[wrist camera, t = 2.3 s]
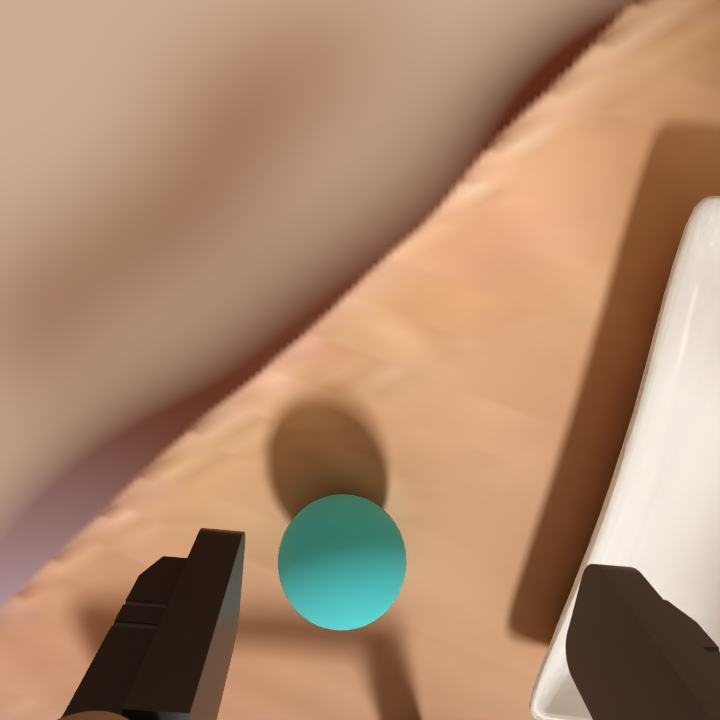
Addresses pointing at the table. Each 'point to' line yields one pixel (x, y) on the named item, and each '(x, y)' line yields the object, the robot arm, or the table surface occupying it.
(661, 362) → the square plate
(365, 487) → the table surface
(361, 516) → the ball
